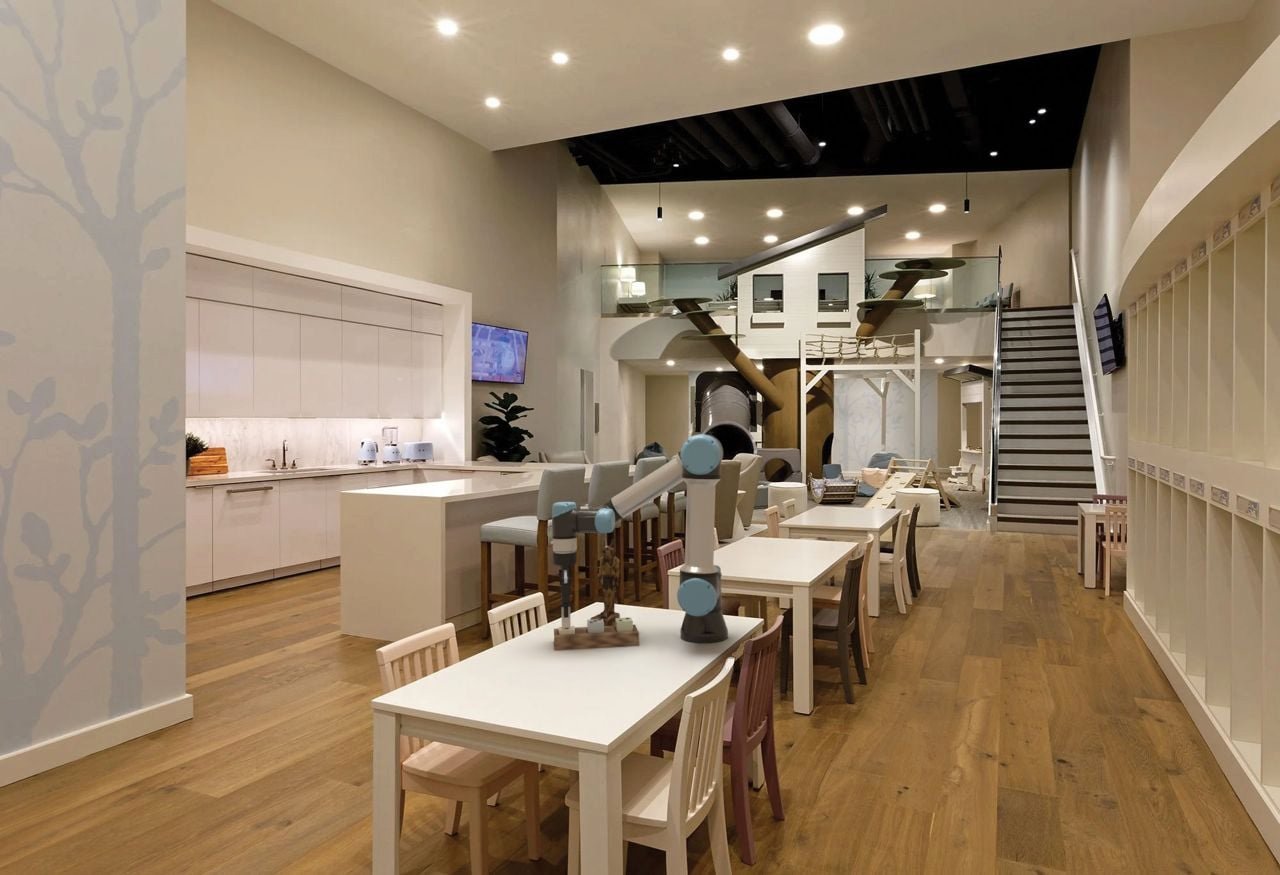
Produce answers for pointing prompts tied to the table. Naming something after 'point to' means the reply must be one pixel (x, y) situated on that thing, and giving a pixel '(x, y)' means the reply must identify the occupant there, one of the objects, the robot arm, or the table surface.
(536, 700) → the table surface
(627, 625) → the pale green block
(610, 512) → the robot arm
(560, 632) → the button
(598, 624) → the button
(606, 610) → the statue
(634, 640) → the wooden tray
